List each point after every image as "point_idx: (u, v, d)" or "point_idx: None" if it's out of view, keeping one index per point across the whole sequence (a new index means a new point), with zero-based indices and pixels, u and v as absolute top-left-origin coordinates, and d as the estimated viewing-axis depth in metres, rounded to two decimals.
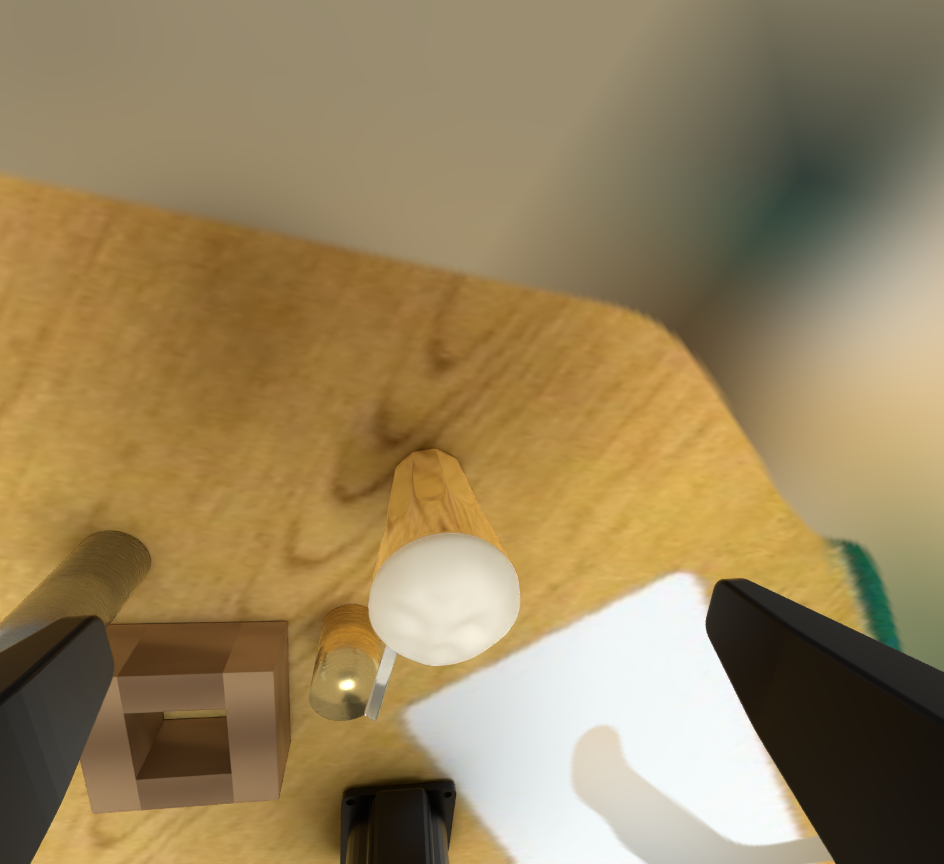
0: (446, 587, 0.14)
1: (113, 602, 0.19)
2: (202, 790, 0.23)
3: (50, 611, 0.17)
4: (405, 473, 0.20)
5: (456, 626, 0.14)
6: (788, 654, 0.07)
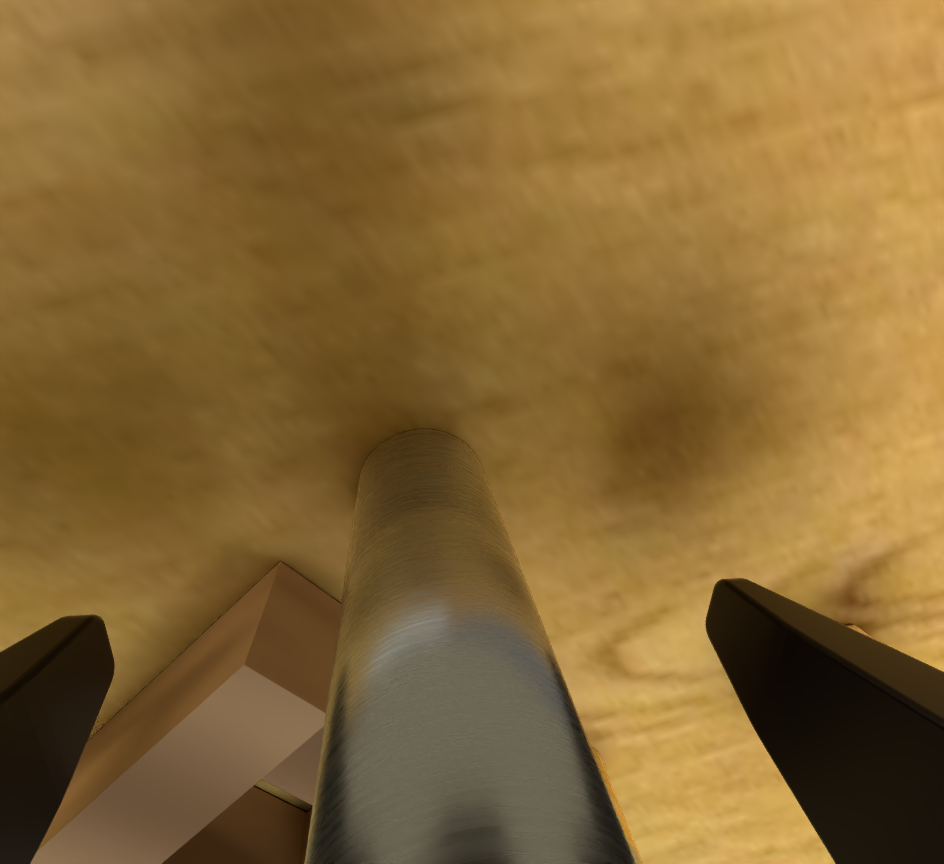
0: None
1: None
2: None
3: (536, 609, 0.07)
4: None
5: None
6: (788, 654, 0.07)
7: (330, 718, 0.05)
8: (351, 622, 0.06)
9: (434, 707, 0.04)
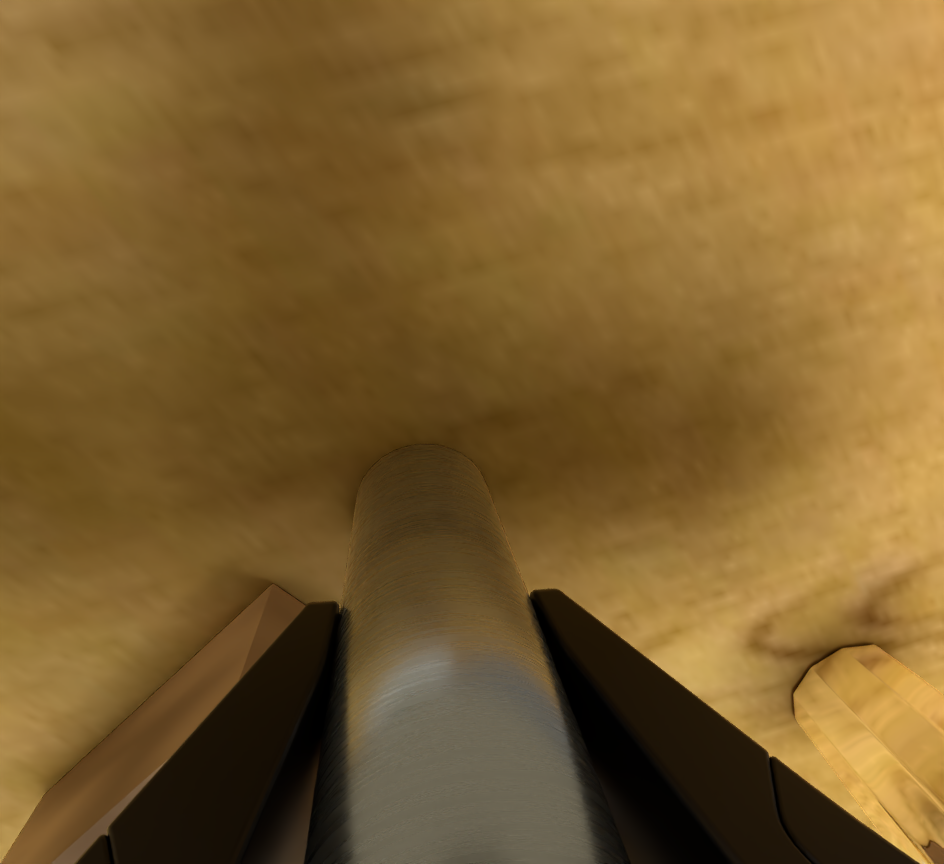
0: None
1: None
2: None
3: (549, 652, 0.06)
4: (929, 697, 0.12)
5: None
6: (563, 673, 0.06)
7: (320, 793, 0.04)
8: (345, 672, 0.05)
9: (439, 795, 0.04)
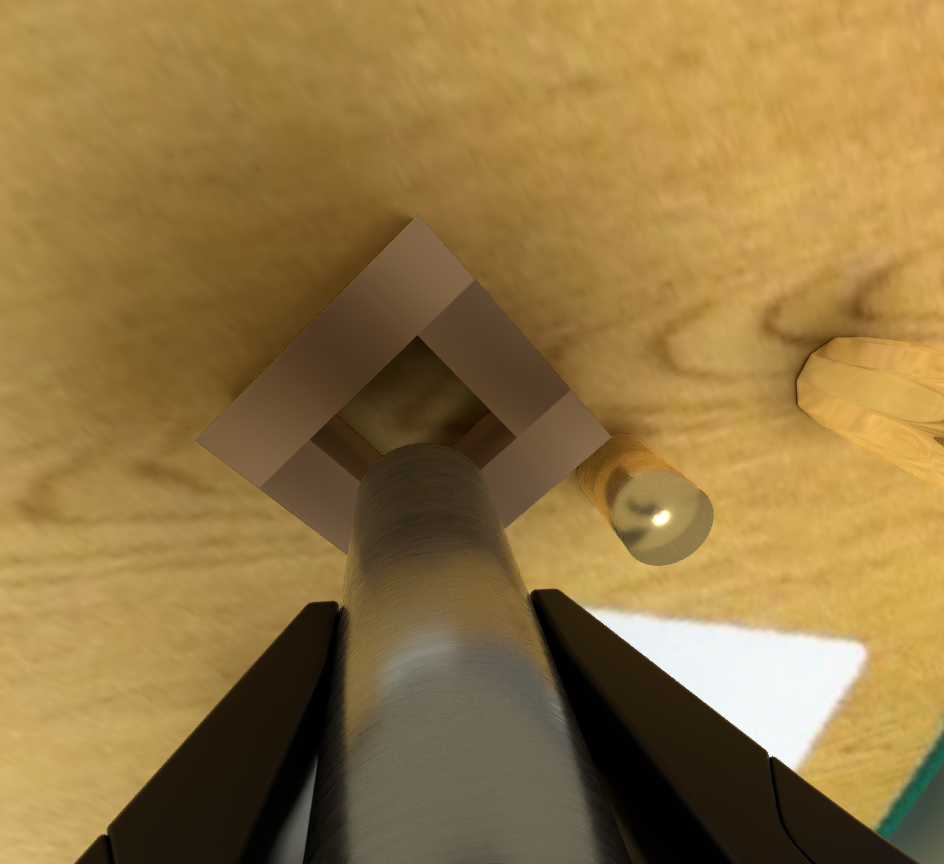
0: None
1: None
2: None
3: None
4: (901, 343, 0.16)
5: None
6: (563, 673, 0.06)
7: (318, 794, 0.04)
8: (344, 672, 0.05)
9: (439, 796, 0.04)
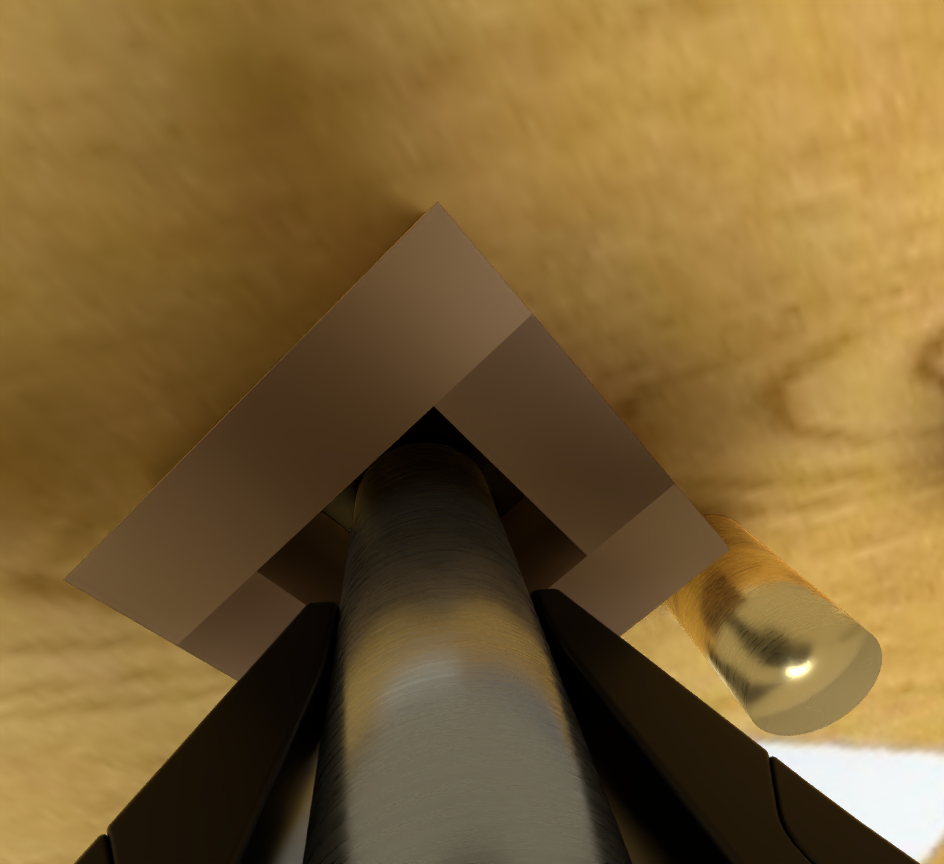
0: None
1: None
2: None
3: (550, 650, 0.06)
4: None
5: None
6: (563, 673, 0.06)
7: (319, 792, 0.04)
8: (344, 671, 0.05)
9: (439, 794, 0.04)
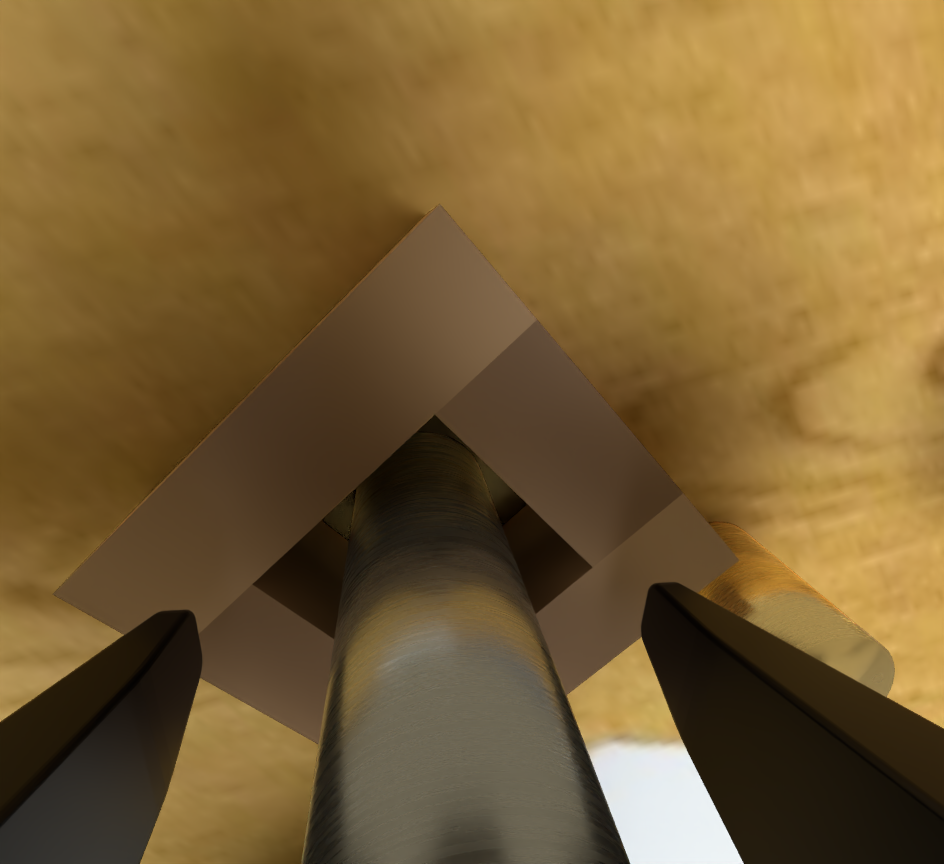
0: None
1: None
2: None
3: (535, 617, 0.07)
4: None
5: None
6: (708, 661, 0.06)
7: (325, 731, 0.05)
8: (348, 631, 0.06)
9: (431, 723, 0.04)
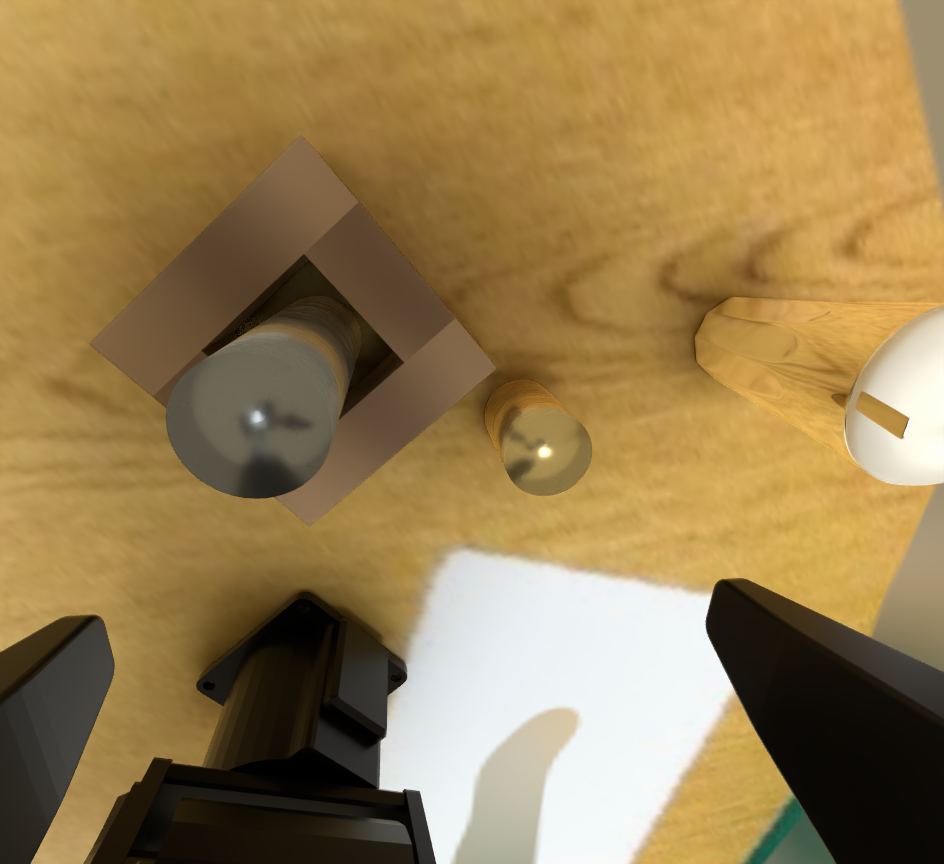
0: None
1: None
2: None
3: (344, 352, 0.13)
4: None
5: None
6: (788, 654, 0.07)
7: None
8: None
9: (259, 331, 0.10)
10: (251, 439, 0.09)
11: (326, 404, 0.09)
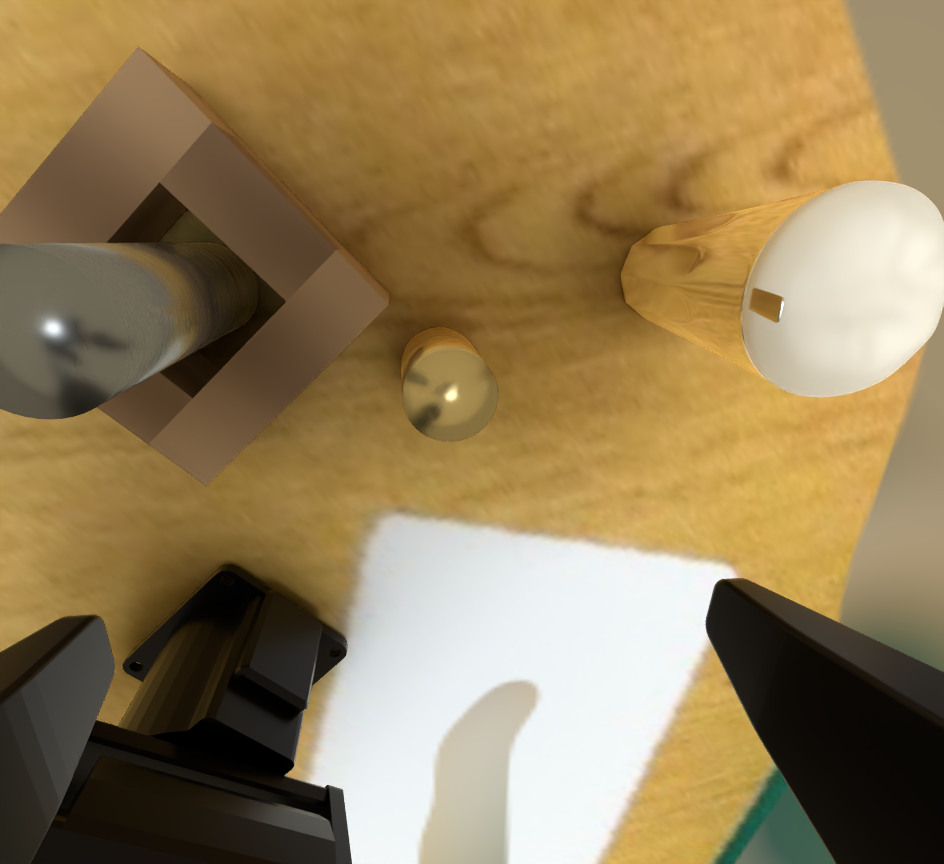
0: (938, 247, 0.10)
1: (224, 330, 0.14)
2: (128, 390, 0.14)
3: (199, 280, 0.12)
4: None
5: (885, 313, 0.10)
6: (788, 654, 0.07)
7: None
8: None
9: None
10: (31, 349, 0.08)
11: (113, 306, 0.08)
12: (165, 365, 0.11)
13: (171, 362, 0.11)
